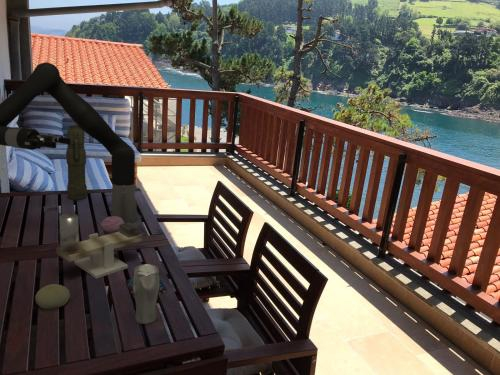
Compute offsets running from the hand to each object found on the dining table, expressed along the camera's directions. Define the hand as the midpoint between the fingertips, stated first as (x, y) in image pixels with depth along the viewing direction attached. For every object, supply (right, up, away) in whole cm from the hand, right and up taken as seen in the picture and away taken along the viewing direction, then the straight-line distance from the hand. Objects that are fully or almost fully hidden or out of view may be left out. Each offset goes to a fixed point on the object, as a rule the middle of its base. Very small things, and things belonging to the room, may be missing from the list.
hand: (63, 143), depth 160 cm
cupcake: (+13, -37, +15) cm, 42 cm away
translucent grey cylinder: (+9, -35, -16) cm, 40 cm away
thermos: (-18, -21, +61) cm, 67 cm away
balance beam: (+16, -35, -8) cm, 39 cm away
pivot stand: (+16, -43, -6) cm, 46 cm away
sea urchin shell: (+9, -49, -30) cm, 58 cm away
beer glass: (+37, -53, -34) cm, 73 cm away
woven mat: (+33, -48, -18) cm, 61 cm away
